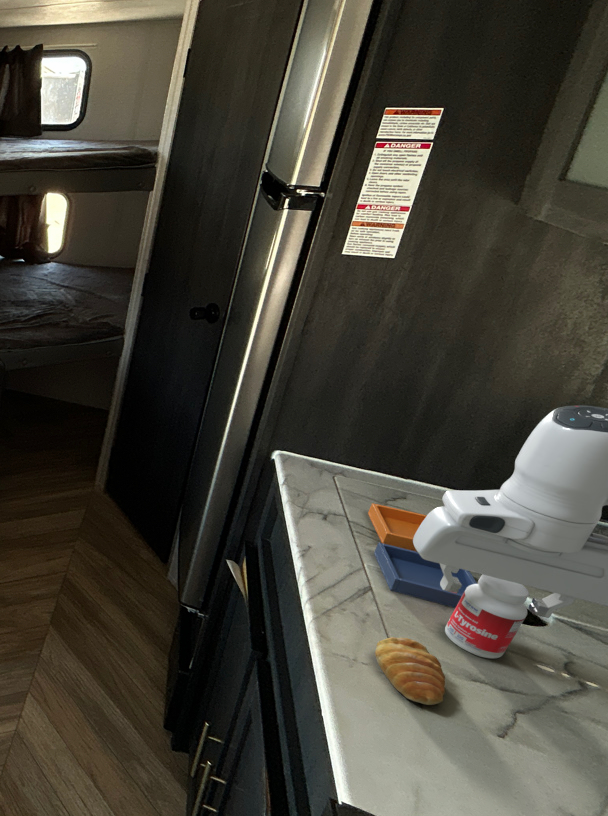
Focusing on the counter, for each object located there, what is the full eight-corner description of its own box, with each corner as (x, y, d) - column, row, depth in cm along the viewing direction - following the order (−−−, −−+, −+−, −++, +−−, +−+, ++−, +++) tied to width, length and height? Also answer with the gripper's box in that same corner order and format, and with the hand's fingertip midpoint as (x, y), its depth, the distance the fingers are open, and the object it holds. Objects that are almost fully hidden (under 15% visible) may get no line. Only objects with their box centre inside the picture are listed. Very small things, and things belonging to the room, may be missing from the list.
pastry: (455, 718, 80) (467, 697, 79) (388, 698, 83) (398, 677, 82) (427, 663, 88) (438, 643, 87) (367, 647, 91) (376, 627, 90)
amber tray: (444, 531, 115) (450, 520, 114) (466, 564, 107) (471, 553, 106) (367, 513, 120) (372, 502, 119) (382, 544, 112) (387, 533, 111)
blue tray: (458, 574, 105) (464, 563, 104) (483, 615, 97) (490, 603, 96) (373, 553, 110) (378, 542, 109) (390, 590, 101) (395, 578, 100)
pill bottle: (433, 632, 93) (463, 574, 89) (459, 622, 95) (490, 564, 91) (486, 665, 88) (521, 604, 84) (512, 653, 90) (548, 594, 86)
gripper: (636, 532, 81) (583, 613, 87) (430, 487, 90) (394, 563, 96) (667, 561, 76) (609, 645, 82) (446, 511, 85) (407, 590, 91)
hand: (491, 601), depth 89 cm, fingers open, 8 cm apart
